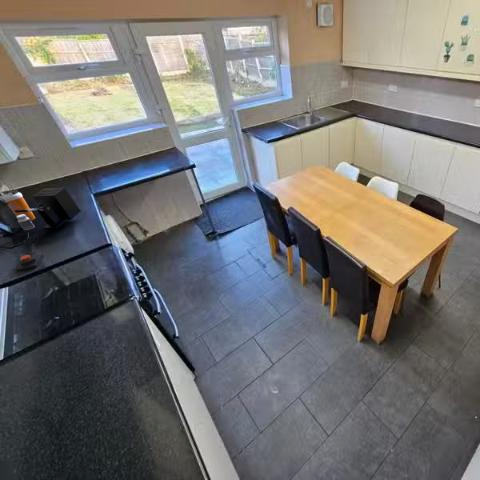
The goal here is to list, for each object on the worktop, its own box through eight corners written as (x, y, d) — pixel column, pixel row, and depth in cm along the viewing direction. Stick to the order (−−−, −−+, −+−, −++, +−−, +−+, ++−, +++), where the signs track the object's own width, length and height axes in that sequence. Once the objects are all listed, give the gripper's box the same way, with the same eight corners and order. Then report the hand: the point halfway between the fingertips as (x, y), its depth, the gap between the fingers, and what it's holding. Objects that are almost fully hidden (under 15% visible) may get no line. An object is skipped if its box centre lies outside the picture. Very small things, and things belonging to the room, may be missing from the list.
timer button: (30, 260, 141) (27, 258, 139) (21, 262, 139) (19, 260, 138) (32, 256, 143) (30, 253, 142) (24, 258, 142) (21, 255, 141)
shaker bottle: (25, 217, 180) (5, 189, 169) (40, 215, 181) (21, 188, 170) (15, 223, 172) (-6, 195, 161) (31, 222, 174) (11, 193, 162)
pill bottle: (36, 227, 170) (27, 214, 165) (25, 231, 166) (16, 218, 161) (33, 225, 172) (24, 213, 167) (22, 229, 169) (13, 216, 164)
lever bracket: (56, 228, 169) (42, 210, 160) (43, 229, 168) (28, 210, 160) (67, 219, 176) (54, 201, 168) (54, 220, 176) (40, 202, 167)
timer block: (38, 268, 141) (32, 262, 139) (18, 272, 139) (13, 267, 136) (44, 256, 148) (39, 251, 146) (26, 260, 146) (20, 255, 143)
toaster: (71, 219, 177) (53, 195, 165) (51, 220, 176) (31, 196, 165) (81, 211, 184) (64, 187, 173) (61, 212, 184) (43, 188, 172)
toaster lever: (26, 213, 152) (25, 208, 151) (15, 213, 152) (14, 209, 151) (51, 210, 167) (50, 206, 166) (41, 210, 166) (40, 206, 166)
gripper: (-47, 186, 134) (-2, 205, 142) (-22, 174, 144) (18, 193, 153) (-48, 196, 137) (-5, 214, 145) (-24, 184, 147) (15, 202, 156)
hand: (7, 204), depth 149 cm, fingers closed
